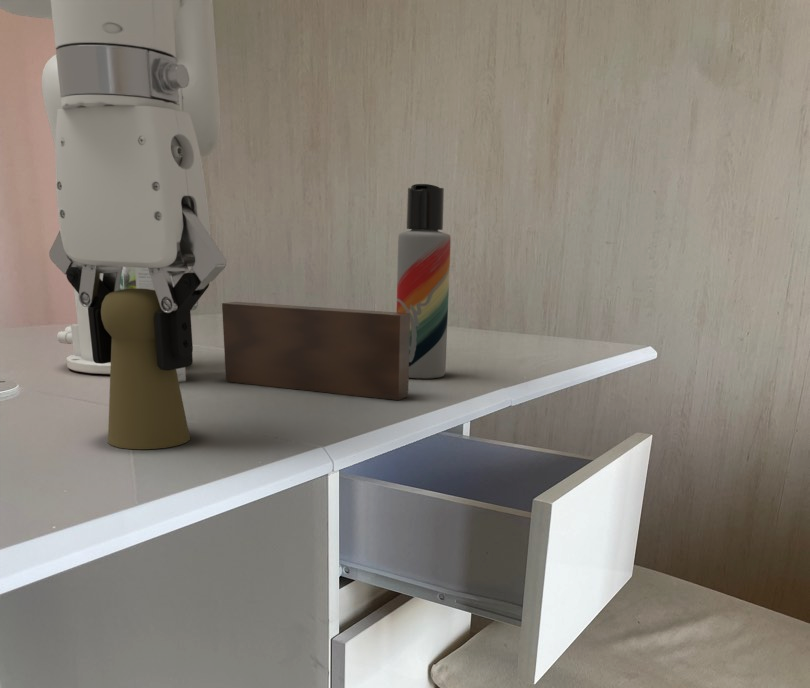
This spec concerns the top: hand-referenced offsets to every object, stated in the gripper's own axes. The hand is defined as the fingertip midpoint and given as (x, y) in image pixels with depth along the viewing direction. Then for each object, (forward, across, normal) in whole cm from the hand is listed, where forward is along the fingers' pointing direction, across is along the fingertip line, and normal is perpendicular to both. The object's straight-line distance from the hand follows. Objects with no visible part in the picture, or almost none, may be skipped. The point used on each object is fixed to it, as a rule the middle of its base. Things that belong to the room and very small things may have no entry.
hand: (143, 361), depth 61 cm
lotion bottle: (+6, -6, -39) cm, 40 cm away
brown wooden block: (+6, 0, -25) cm, 26 cm away
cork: (+6, 0, 0) cm, 6 cm away
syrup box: (+6, +18, -22) cm, 29 cm away
